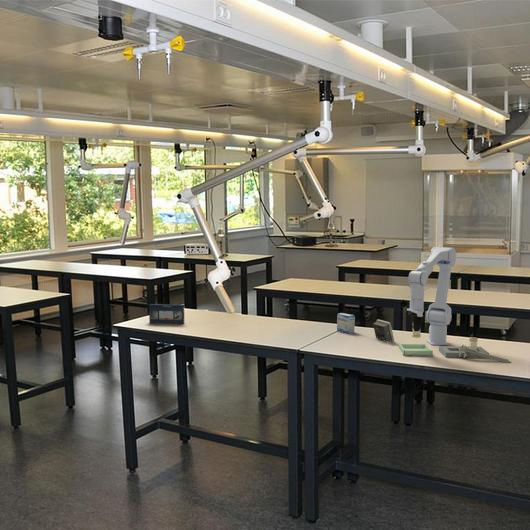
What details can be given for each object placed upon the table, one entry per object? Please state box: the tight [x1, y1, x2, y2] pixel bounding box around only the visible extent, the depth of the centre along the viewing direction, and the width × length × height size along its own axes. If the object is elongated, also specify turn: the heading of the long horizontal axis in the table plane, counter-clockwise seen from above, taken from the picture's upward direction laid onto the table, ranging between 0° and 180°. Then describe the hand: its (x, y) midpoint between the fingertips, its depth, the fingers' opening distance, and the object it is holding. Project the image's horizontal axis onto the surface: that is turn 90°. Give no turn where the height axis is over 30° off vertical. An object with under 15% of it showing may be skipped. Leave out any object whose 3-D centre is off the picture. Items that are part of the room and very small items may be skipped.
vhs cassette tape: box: [148, 303, 185, 325], centre depth 316 cm, size 18×3×10 cm, turn 83°
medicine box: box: [336, 312, 356, 334], centre depth 299 cm, size 8×4×9 cm, turn 42°
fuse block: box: [438, 345, 490, 359], centre depth 257 cm, size 11×18×2 cm, turn 88°
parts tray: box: [397, 343, 434, 357], centre depth 260 cm, size 12×12×2 cm
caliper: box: [458, 344, 512, 364], centre depth 248 cm, size 20×1×6 cm, turn 71°
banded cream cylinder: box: [411, 326, 422, 339], centre depth 259 cm, size 3×3×7 cm
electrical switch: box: [372, 319, 395, 342], centre depth 282 cm, size 9×5×9 cm, turn 29°
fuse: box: [468, 336, 478, 350], centre depth 257 cm, size 3×3×7 cm
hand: (415, 330), depth 259 cm, fingers closed on banded cream cylinder, 3 cm apart
